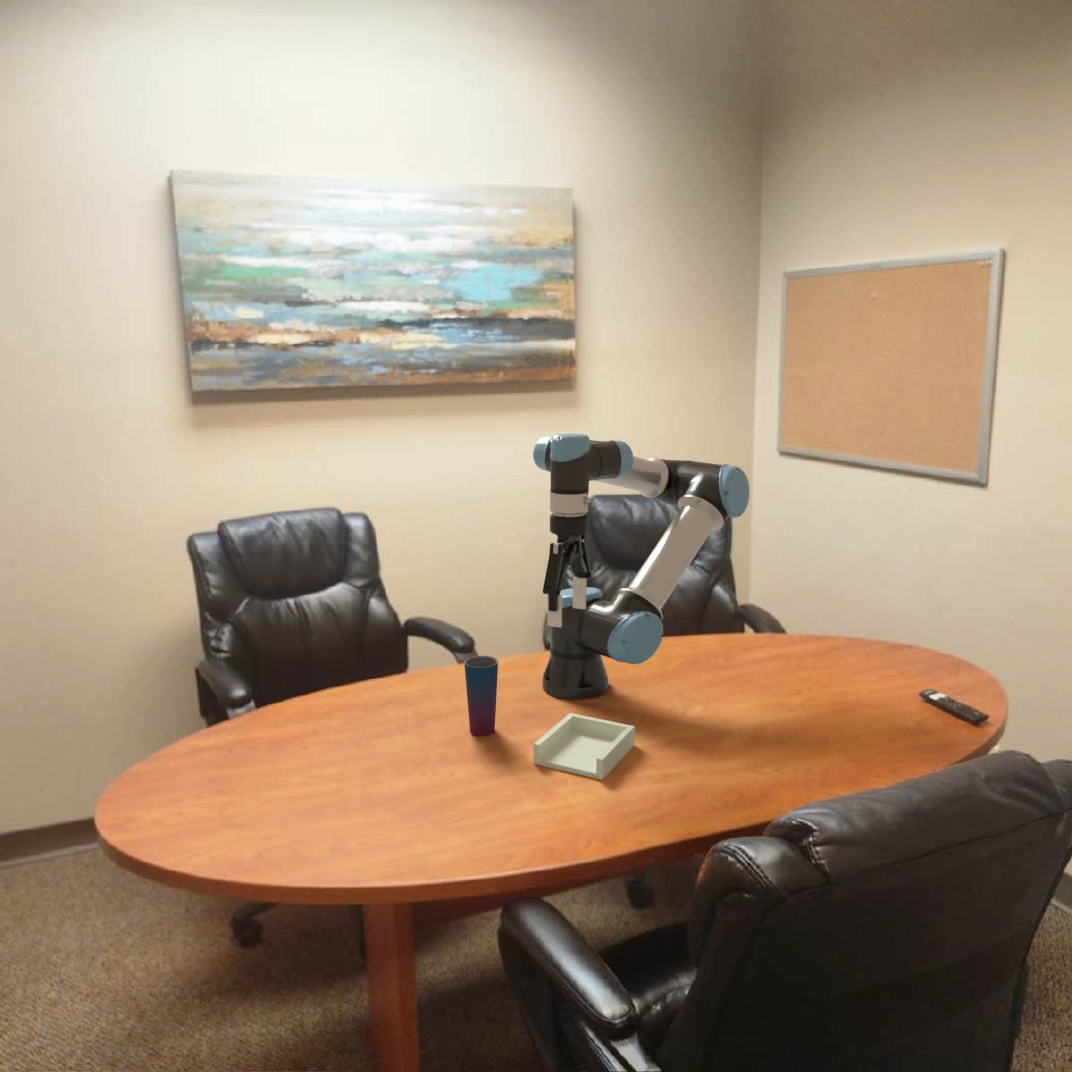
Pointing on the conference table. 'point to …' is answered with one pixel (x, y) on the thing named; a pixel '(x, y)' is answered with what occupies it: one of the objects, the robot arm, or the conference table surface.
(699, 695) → the conference table surface
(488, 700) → the cup
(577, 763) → the open sided tray
